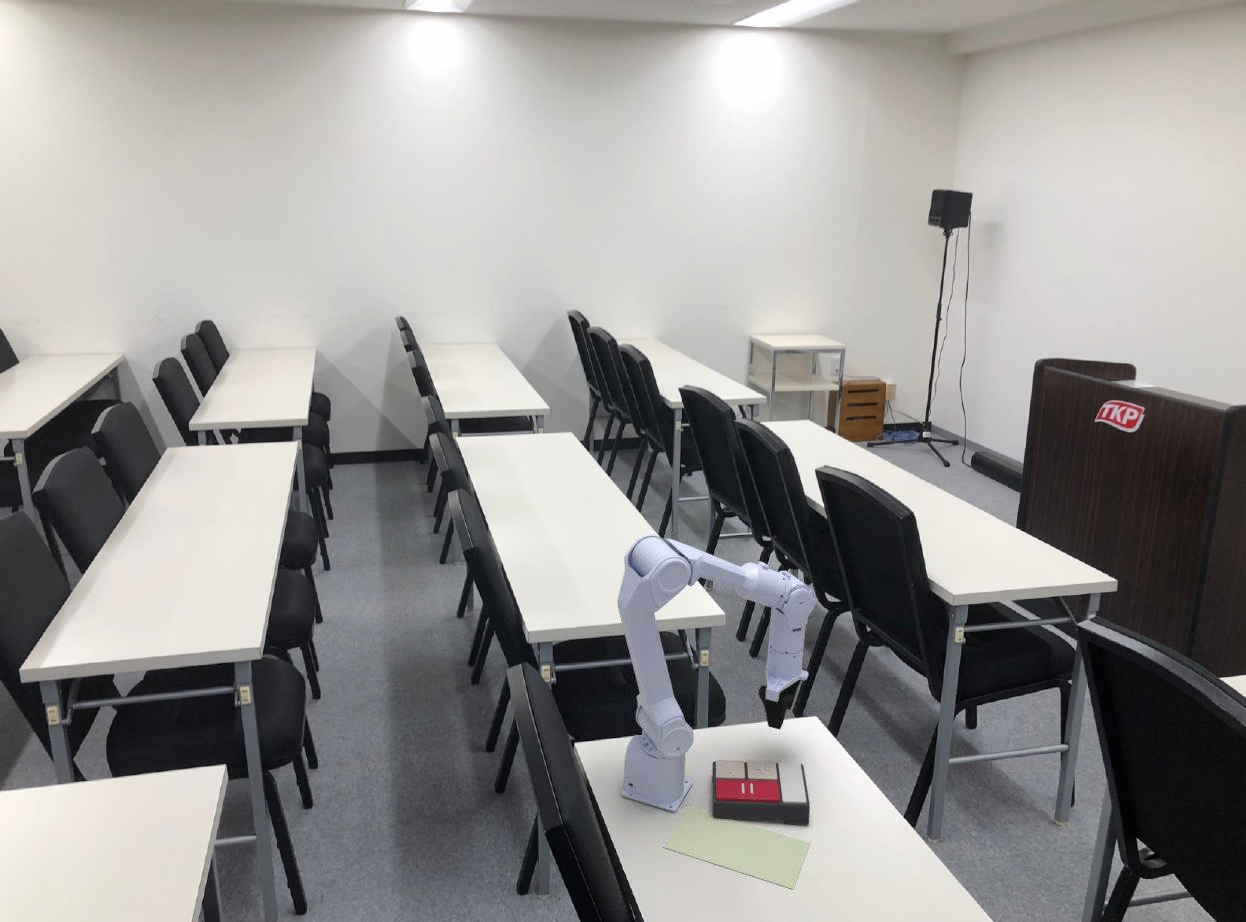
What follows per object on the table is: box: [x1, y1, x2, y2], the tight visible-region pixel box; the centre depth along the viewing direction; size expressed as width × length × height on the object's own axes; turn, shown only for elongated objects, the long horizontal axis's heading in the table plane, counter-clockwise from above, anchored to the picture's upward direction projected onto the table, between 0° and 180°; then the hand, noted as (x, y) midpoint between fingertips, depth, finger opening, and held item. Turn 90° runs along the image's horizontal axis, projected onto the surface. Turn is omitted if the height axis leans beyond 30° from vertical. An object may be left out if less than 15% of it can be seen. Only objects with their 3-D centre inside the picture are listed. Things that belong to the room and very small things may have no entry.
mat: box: [662, 805, 811, 890], centre depth 143 cm, size 20×10×1 cm, turn 66°
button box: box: [712, 759, 811, 825], centre depth 153 cm, size 11×4×15 cm
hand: (779, 717), depth 160 cm, fingers open, 6 cm apart
